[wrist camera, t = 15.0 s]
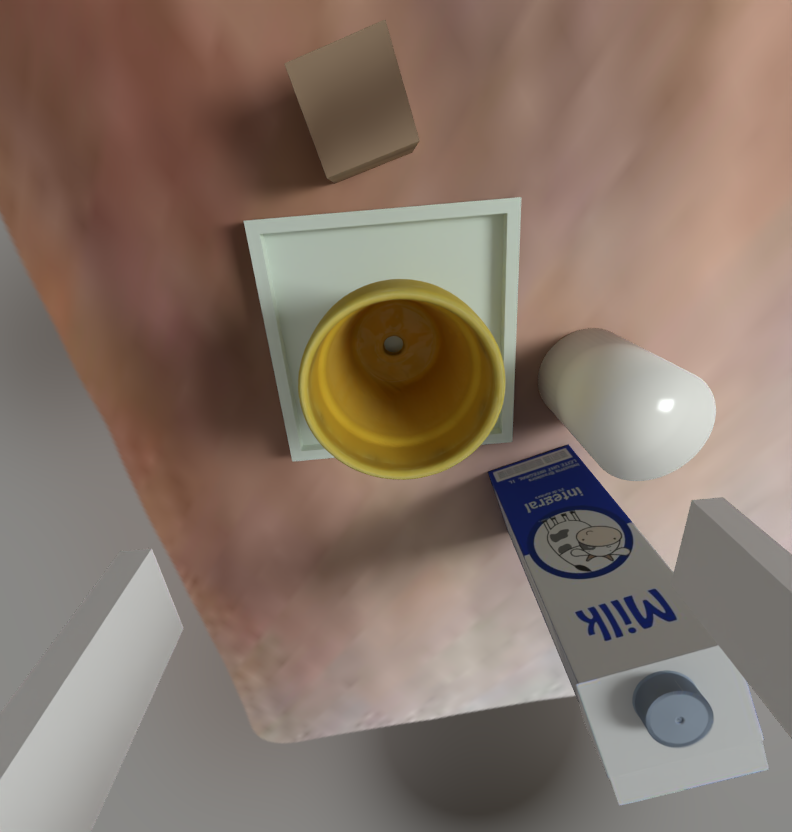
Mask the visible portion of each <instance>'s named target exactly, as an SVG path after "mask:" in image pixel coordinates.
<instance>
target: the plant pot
mask: <svg viewBox="0 0 792 832" xmlns="http://www.w3.org/2000/svg"><path fill="white" fill-rule="evenodd" d="M391 336H397V337H399V338H401V339H402V341H403V347H402V349H401V350H400V351H398V352H389V351H388V350H387V349H386V348H385V346H384V344H385V340H386V339H387V338H389V337H391ZM505 382H506V379H505V369H504V364H503V359H502V356H501V352H500V350H499V347H498V345H497V343H496V341H495V339H494V337H493V335H492V333H491V332H490V330H489V329H488V328H487V326H486V325H485V323H484V322H483V321H482V320H481V318H480V317H479V316H478V315H477V314H476V313H475V312H474V311H473V310H472V309H471V308H470V307H469V306H468V305H467V304H466V303H464V302H463V301H462V300H461V299H459V298H458V297H457V296H455V295H454V294H452V293H450V292H449V291H447V290H445V289H443V288H441V287H439V286H436V285H433V284H430V283H427V282H423V281H418V280H412V279H390V280H383V281H378V282H375V283H371V284H368V285H365V286H363V287H361V288H359V289H357V290H355V291H353V292H351V293H349V294H347V295H346V296H344V297H343V298H342V299H340V300H339V301H338V302H337V303H336V304H335V305H333V306H332V307H331V308H330V309H329V311H328V312H327V313H326V314H325V315H324V317H323V318H322V319H321V320H320V322H319V323H318V325H317V327H316V328H315V330H314V331H313V333H312V335H311V337H310V339H309V341H308V343H307V345H306V348H305V350H304V353H303V356H302V359H301V363H300V369H299V375H298V393H299V400H300V405H301V409H302V412H303V415H304V418H305V420H306V422H307V424H308V426H309V428H310V430H311V432H312V433H313V435H314V436H315V438H316V439H317V440H318V442H319V443H320V444H321V445H322V446H323V447H324V448H325V449H326V450H327V451H328V452H329V453H330V454H331V455H332V456H334V457H335V458H336V459H338V460H339V461H340V462H342V463H343V464H345V465H347V466H349V467H351V468H352V469H355V470H357V471H359V472H362V473H365V474H368V475H371V476H375V477H379V478H386V479H403V480H405V479H416V478H422V477H426V476H430V475H433V474H437V473H439V472H442V471H444V470H447V469H449V468H451V467H453V466H454V465H456V464H458V463H459V462H461V461H462V460H464V459H465V458H467V457H468V456H469V455H470V454H472V453H473V452H474V451H475V450H476V449H477V448H478V447H479V446H480V445H481V444H482V443H483V442H484V440H485V439H486V438H487V437H488V435H489V434H490V432H491V431H492V429H493V427H494V426H495V424H496V422H497V419H498V417H499V414H500V412H501V409H502V405H503V401H504V396H505Z"/></svg>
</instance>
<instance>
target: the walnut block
mask: <svg viewBox="0 0 792 832" xmlns="http://www.w3.org/2000/svg"><path fill="white" fill-rule="evenodd" d="M285 67H286V70H287V72H288V75H289V78H290V80H291V83H292V86H293V88H294V91H295V94H296V97H297V99H298V102H299V105H300V107H301V110H302V113H303V115H304V118H305V121H306V123H307V126H308V129H309V132H310V134H311V137H312V140H313V142H314V145H315V148H316V150H317V153H318V156H319V159H320V161H321V164H322V167H323V169H324V172H325V175H326V177H327V179H329V180H330V181H332V182H333V183H337V182H340V181H342V180H345V179H347V178H350V177H352V176H355V175H357V174H360V173H362V172H365V171H367V170H370V169H372V168H375V167H377V166H380V165H382V164H385V163H387V162H390V161H392V160H395V159H397V158H399V157H402V156H404V155H407V154H409V153H412V152H413V150H414V149H415V147H416V146H417V144H418V142H419V137H418V134H417V130H416V127H415V123H414V120H413V116H412V112H411V109H410V105H409V102H408V98H407V95H406V91H405V88H404V84H403V81H402V77H401V74H400V70H399V66H398V63H397V59H396V56H395V52H394V49H393V45H392V42H391V38H390V35H389V31H388V28H387V24H386V20H383V21H381V22H378V23H376V24H374V25H372V26H369V27H367V28H365V29H362V30H360V31H358V32H356V33H353V34H351V35H349V36H346V37H344V38H342V39H340V40H337V41H335V42H333V43H330V44H328V45H326V46H324V47H321V48H319V49H317V50H314V51H312V52H310V53H308V54H305V55H303V56H301V57H298V58H296V59H294V60H292V61H289V62H287V63H285Z"/></svg>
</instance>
